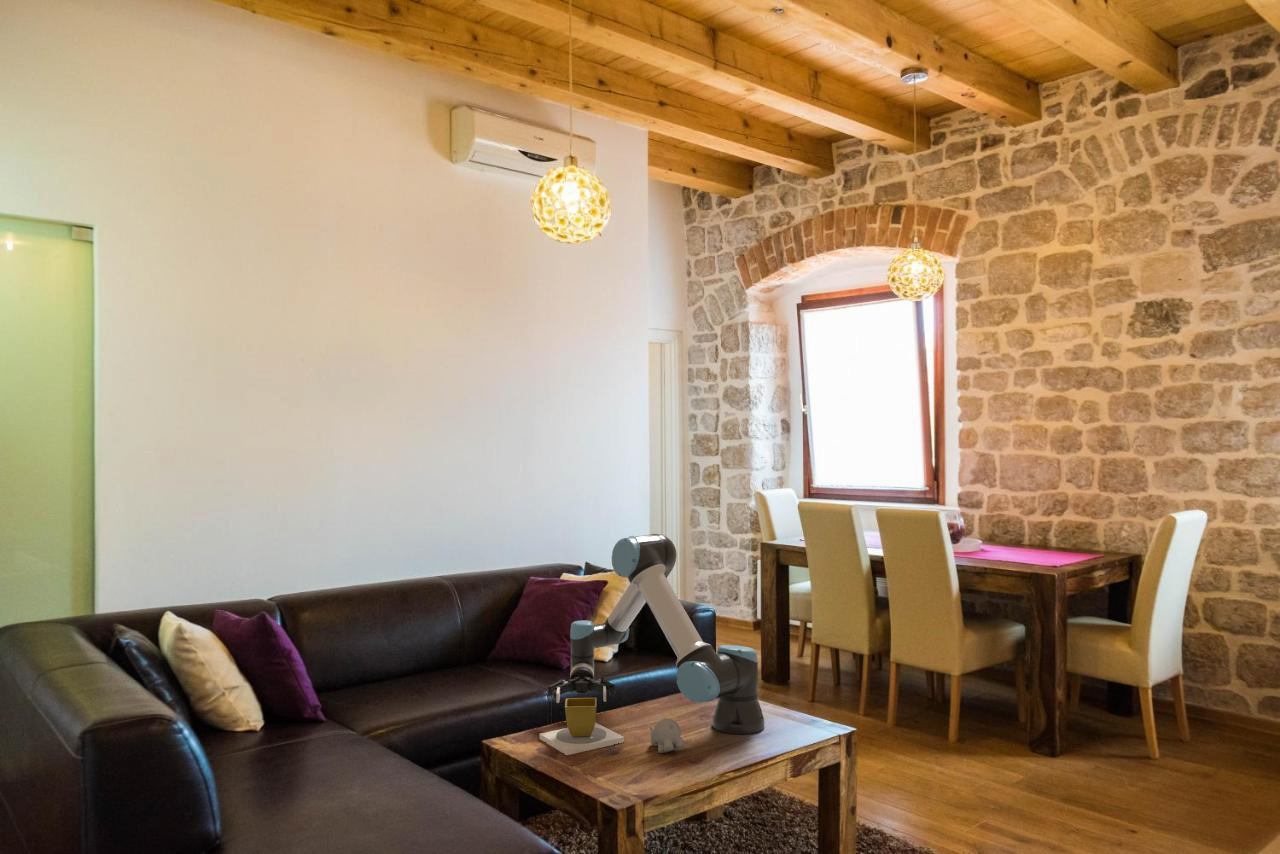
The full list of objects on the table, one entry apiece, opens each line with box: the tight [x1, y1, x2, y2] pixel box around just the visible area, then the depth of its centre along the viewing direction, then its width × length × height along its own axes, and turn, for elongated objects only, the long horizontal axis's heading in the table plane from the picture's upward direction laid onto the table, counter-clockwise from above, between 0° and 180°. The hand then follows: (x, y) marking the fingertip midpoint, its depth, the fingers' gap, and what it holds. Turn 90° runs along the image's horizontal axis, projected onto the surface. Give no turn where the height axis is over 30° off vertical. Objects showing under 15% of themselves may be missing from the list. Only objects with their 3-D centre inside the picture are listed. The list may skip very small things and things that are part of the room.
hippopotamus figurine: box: [649, 717, 685, 754], centre depth 241 cm, size 7×12×8 cm, turn 30°
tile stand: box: [539, 721, 625, 756], centre depth 249 cm, size 16×18×2 cm
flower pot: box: [564, 697, 598, 737], centre depth 249 cm, size 9×9×9 cm
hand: (581, 697), depth 258 cm, fingers open, 13 cm apart
